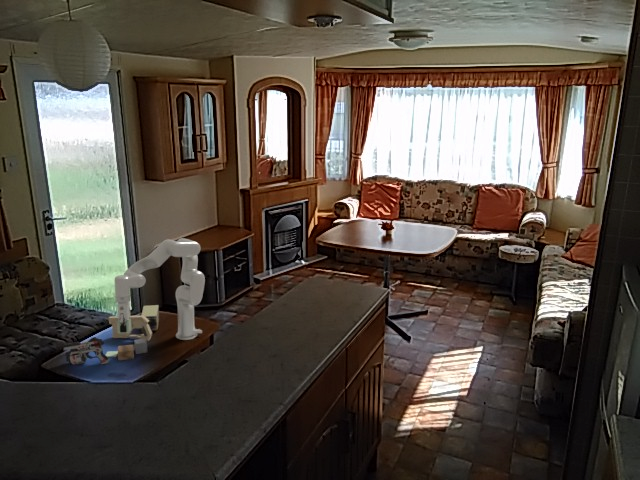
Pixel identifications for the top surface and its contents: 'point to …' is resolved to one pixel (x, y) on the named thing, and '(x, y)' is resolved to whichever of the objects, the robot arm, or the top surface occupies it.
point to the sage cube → (128, 326)
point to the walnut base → (125, 352)
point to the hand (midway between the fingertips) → (124, 329)
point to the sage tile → (112, 354)
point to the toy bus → (152, 316)
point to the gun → (132, 327)
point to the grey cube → (140, 346)
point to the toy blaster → (85, 351)
